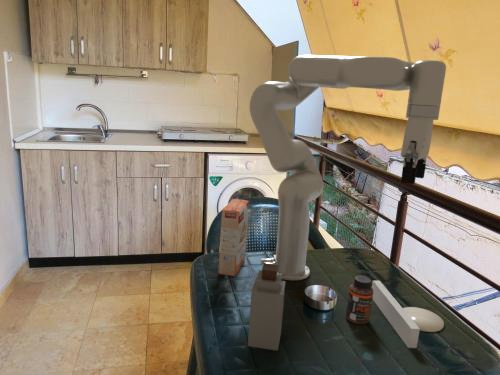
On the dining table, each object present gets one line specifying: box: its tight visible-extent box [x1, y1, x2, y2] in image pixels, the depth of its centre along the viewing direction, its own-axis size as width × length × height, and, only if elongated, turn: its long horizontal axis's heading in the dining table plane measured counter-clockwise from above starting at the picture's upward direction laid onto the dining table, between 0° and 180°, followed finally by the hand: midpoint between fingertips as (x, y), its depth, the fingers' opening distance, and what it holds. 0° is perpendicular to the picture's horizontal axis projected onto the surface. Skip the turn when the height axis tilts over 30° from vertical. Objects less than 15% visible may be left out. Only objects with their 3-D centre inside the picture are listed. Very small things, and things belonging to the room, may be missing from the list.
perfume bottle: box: [247, 264, 286, 352], centre depth 93 cm, size 7×7×18 cm
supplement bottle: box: [345, 275, 373, 325], centre depth 104 cm, size 6×6×11 cm
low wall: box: [371, 280, 420, 349], centre depth 106 cm, size 2×24×5 cm, turn 5°
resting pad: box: [402, 306, 445, 333], centre depth 107 cm, size 11×11×1 cm
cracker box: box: [217, 198, 250, 277], centre depth 129 cm, size 14×6×21 cm, turn 168°
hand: (412, 180), depth 106 cm, fingers open, 9 cm apart
